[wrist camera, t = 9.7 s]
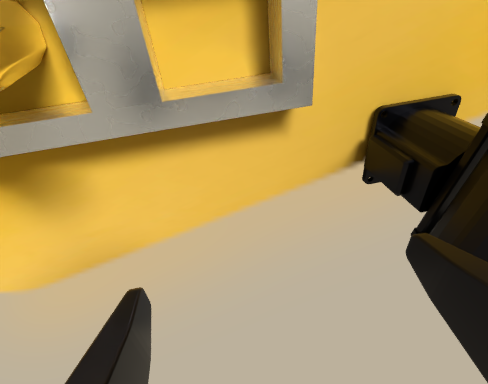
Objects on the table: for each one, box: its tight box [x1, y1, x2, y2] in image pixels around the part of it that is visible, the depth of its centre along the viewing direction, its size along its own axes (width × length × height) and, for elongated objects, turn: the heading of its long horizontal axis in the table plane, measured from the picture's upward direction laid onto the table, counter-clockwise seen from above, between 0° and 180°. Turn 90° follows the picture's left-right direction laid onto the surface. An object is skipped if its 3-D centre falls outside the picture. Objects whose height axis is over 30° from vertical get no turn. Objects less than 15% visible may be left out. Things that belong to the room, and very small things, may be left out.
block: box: [0, 0, 317, 157], centre depth 13 cm, size 20×10×2 cm, turn 96°
